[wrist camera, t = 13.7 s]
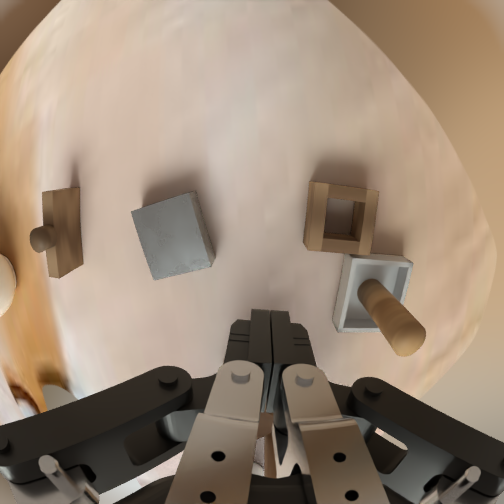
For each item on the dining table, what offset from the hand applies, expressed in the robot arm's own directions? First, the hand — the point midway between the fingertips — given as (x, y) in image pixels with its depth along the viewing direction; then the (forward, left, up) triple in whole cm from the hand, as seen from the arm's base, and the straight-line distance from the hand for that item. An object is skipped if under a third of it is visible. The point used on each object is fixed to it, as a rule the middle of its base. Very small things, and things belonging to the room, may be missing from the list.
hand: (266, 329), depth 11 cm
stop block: (0, +22, -17) cm, 27 cm away
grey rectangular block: (0, +9, -17) cm, 19 cm away
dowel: (-5, -12, -16) cm, 21 cm away
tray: (-5, -12, -17) cm, 21 cm away
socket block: (+3, -7, -17) cm, 18 cm away
